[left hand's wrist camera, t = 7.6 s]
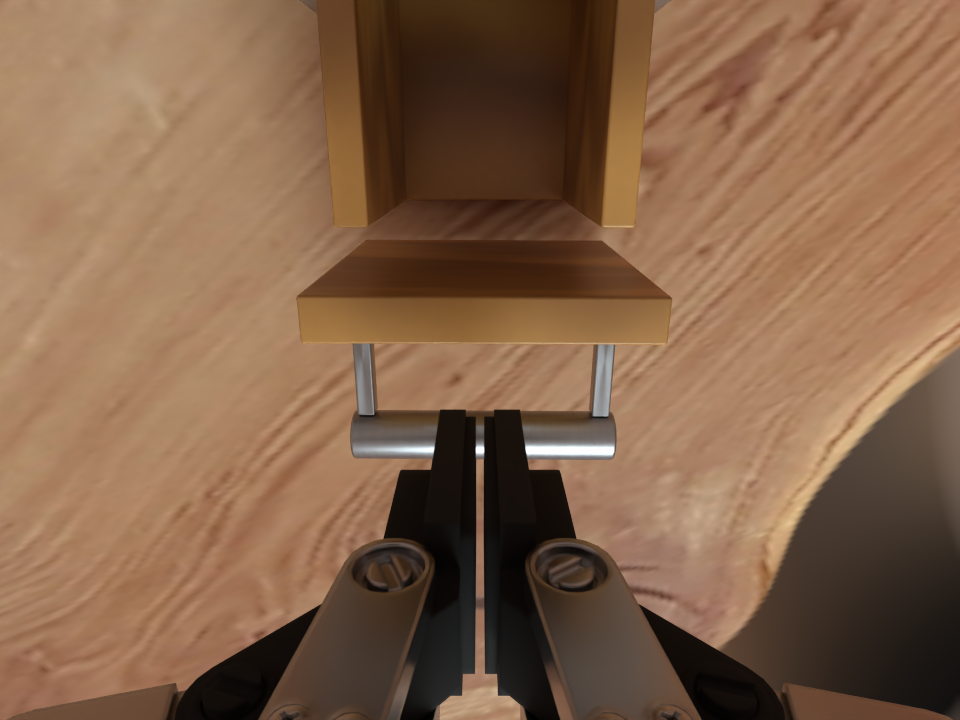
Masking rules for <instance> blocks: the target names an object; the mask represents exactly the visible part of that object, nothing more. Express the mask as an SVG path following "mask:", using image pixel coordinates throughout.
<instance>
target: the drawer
mask: <svg viewBox="0 0 960 720" xmlns="http://www.w3.org/2000/svg"><path fill="white" fill-rule="evenodd" d="M316 4H317V16H318V29H319V42H320V54H321V67H322V80H323V92H324V105H325V118H326V130H327V143H328V156H329V168H330V181H331V194H332V206H333V219H334V226H335V227H368V226H369V225H371V224H372V223H374V222H375V221H376V220H378V219H379V218H381V217H382V216H383V215H385V214H386V213H388V212H389V211H391V210H392V209H393V208H395V207H396V206H398V205H399V204H400V203H402V202H403V201H405V200H564V201H565V202H567V203H568V204H569V205H571V206H572V207H574V208H575V209H577V210H578V211H579V212H581V213H582V214H584V215H585V216H586V217H588V218H589V219H591V220H592V221H594V222H595V223H596V224H598V225H599V226H601V227H602V228H633V227H634V226H635V221H636V210H637V199H638V188H639V176H640V165H641V154H642V143H643V132H644V120H645V109H646V98H647V87H648V76H649V64H650V53H651V42H652V31H653V20H654V9H655V0H316ZM671 305H672V298H671V297H670V296H669V295H668V294H666V293H665V292H664V291H663V290H662V289H660V288H659V287H658V286H657V285H655V284H654V283H653V282H652V281H651V280H649V279H648V278H647V277H646V276H644V275H643V274H642V273H641V272H640V271H638V270H637V269H636V268H635V267H633V266H632V265H631V264H630V263H629V262H627V261H626V260H625V259H624V258H622V257H621V256H620V255H619V254H618V253H616V252H615V251H614V250H613V249H611V248H610V247H609V246H608V245H607V244H605V243H604V242H603V241H528V240H366V241H365V242H363V243H362V244H361V245H360V246H358V247H357V248H356V249H355V250H354V251H352V252H351V253H350V254H349V255H347V256H346V257H345V258H344V259H342V260H341V261H340V262H339V263H337V264H336V265H335V266H334V267H333V268H331V269H330V270H329V271H328V272H326V273H325V274H324V275H323V276H321V277H320V278H319V279H318V280H316V281H315V282H314V283H313V284H312V285H310V286H309V287H308V288H307V289H305V290H304V291H303V292H302V293H300V294H299V295H298V296H297V306H298V316H299V325H300V335H301V341H302V343H353V355H354V368H355V382H356V395H357V409H358V410H357V411H355V413H354V415H353V418H352V422H351V432H350V443H351V451H352V454H353V456H354V457H355V458H384V459H433V454H434V447H435V440H436V434H437V427H438V420H439V413H440V411H425V410H377V408H378V404H377V387H376V371H375V354H374V344H581V345H594V348H593V362H592V376H591V390H590V404H589V410H590V411H520V413H521V420H522V427H523V434H524V440H525V447H526V454H527V459H557V460H611V459H613V457H614V455H615V451H616V424H615V419H614V416H613V414H612V413H611V412H610V400H611V388H612V376H613V364H614V352H615V345H665V344H667V340H668V331H669V322H670V313H671ZM466 416H476V459H484V416H494V411H466Z"/></svg>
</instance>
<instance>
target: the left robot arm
mask: <svg viewBox="0 0 960 720" xmlns="http://www.w3.org/2000/svg"><path fill="white" fill-rule="evenodd" d="M475 609H476V416H466V410H440V413H439V420H438V427H437V434H436V440H435V447H434V454H433V460H432V467H431V470H401V471H400V473H399V477H398V481H397V485H396V489H395V494H394V498H393V502H392V506H391V510H390V514H389V518H388V522H387V527H386V531H385V535H384V539H382V540H376V541H373V542H371V543H368V544H366V545H363V546H361V547H360V548H359V549H357V550H356V551H354V552H353V553H352V554H351V555H350V556H349V557H348V559H347V560H346V561H345V562H344V564H343V566H342V568H341V570H340V572H339V573H338V575H337V577H336V579H335V581H334V583H333V584H332V586H331V588H330V590H329V592H328V594H327V595H326V597H325V599H324V601H323V603H322V604H321V605H319V606H317V607H315V608H314V609H312V610H310V611H309V612H307V613H305V614H303V615H302V616H300V617H298V618H297V619H295V620H293V621H291V622H290V623H288V624H286V625H285V626H283V627H281V628H279V629H278V630H276V631H274V632H273V633H271V634H269V635H267V636H266V637H264V638H262V639H261V640H259V641H257V642H255V643H254V644H252V645H250V646H249V647H247V648H245V649H243V650H242V651H240V652H238V653H237V654H235V655H233V656H231V657H230V658H228V659H226V660H225V661H223V662H221V663H219V664H218V665H216V666H214V667H213V668H211V669H210V670H208V671H207V672H206V673H204V674H203V675H201V676H200V677H199V678H197V679H196V680H195V681H194V683H193V684H192V685H191V686H190V687H189V688H188V689H187V690H185V691H180V692H178V689H177V685H176V683H173V684H168V685H162V686H157V687H152V688H146V689H141V690H136V691H131V692H125V693H120V694H115V695H109V696H104V697H99V698H94V699H88V700H83V701H78V702H72V703H67V704H62V705H57V706H51V707H46V708H41V709H35V710H32V711H29V712H25V713H22V714H19V715H16V716H13V717H11V718H9V719H7V720H439V718H440V704H441V703H442V702H443V701H445V700H446V699H447V698H448V697H449V696H462V679H463V674H475ZM484 609H485V674H497V679H498V696H511V697H512V698H513V699H514V700H515V701H517V702H518V703H519V704H520V718H521V720H953V719H951V718H949V717H947V716H944V715H941V714H938V713H934V712H931V711H928V710H925V709H919V708H914V707H909V706H903V705H898V704H893V703H888V702H882V701H877V700H871V699H866V698H861V697H856V696H850V695H845V694H840V693H835V692H829V691H824V690H819V689H813V688H808V687H803V686H798V685H792V684H787V683H784V685H783V689H782V692H780V691H775V690H773V689H772V688H771V687H770V686H769V685H768V684H767V683H766V681H765V680H764V679H763V678H761V677H760V676H759V675H757V674H756V673H754V672H753V671H752V670H750V669H749V668H747V667H746V666H744V665H742V664H741V663H739V662H737V661H735V660H734V659H732V658H730V657H729V656H727V655H725V654H723V653H722V652H720V651H718V650H717V649H715V648H713V647H711V646H710V645H708V644H706V643H705V642H703V641H701V640H699V639H698V638H696V637H694V636H693V635H691V634H689V633H687V632H686V631H684V630H682V629H681V628H679V627H677V626H675V625H674V624H672V623H670V622H669V621H667V620H665V619H663V618H662V617H660V616H658V615H657V614H655V613H653V612H651V611H650V610H648V609H646V608H645V607H643V606H641V605H639V604H638V603H637V601H636V599H635V597H634V595H633V594H632V592H631V590H630V588H629V586H628V584H627V583H626V581H625V579H624V577H623V575H622V573H621V572H620V570H619V568H618V566H617V564H616V562H615V561H614V560H613V559H612V557H611V556H610V555H609V554H608V553H607V552H606V551H604V550H603V549H601V548H600V547H599V546H597V545H594V544H592V543H589V542H587V541H584V540H578V539H576V535H575V531H574V527H573V522H572V518H571V514H570V510H569V506H568V502H567V498H566V494H565V489H564V485H563V481H562V477H561V473H560V471H559V470H529V467H528V460H527V454H526V447H525V440H524V434H523V427H522V420H521V413H520V410H494V416H484Z"/></svg>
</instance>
